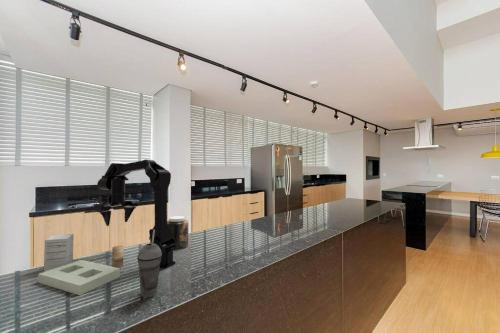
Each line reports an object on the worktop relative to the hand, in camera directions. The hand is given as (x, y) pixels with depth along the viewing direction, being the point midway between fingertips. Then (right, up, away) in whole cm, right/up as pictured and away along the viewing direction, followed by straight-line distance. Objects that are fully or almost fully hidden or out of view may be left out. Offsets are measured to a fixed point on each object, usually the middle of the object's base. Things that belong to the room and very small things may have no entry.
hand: (117, 223), depth 106 cm
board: (+1, -14, -25) cm, 28 cm away
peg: (+8, -14, -13) cm, 21 cm away
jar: (+23, -16, +14) cm, 31 cm away
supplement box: (-14, -14, -15) cm, 25 cm away
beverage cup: (+30, -14, -34) cm, 47 cm away
